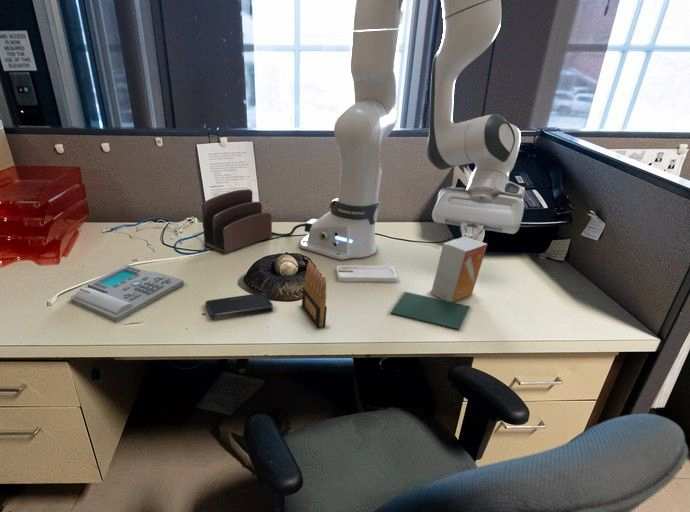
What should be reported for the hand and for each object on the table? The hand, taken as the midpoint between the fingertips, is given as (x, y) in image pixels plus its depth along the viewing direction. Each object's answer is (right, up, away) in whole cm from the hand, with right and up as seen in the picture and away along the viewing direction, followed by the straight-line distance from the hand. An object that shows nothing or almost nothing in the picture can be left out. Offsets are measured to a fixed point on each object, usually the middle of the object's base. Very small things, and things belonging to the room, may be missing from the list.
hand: (466, 242), depth 115 cm
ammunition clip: (-39, -19, -7) cm, 44 cm away
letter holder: (-56, +9, +32) cm, 65 cm away
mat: (-11, -18, -6) cm, 22 cm away
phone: (-56, -17, -3) cm, 58 cm away
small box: (-3, -13, +1) cm, 13 cm away
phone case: (-22, -6, +10) cm, 25 cm away
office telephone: (-85, -12, +5) cm, 86 cm away
